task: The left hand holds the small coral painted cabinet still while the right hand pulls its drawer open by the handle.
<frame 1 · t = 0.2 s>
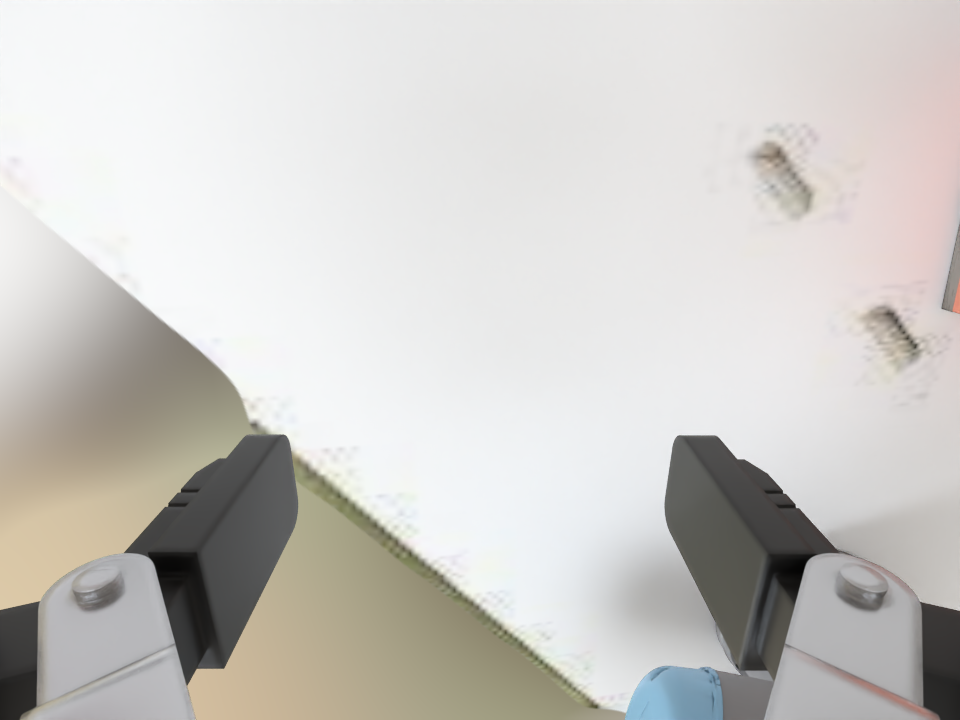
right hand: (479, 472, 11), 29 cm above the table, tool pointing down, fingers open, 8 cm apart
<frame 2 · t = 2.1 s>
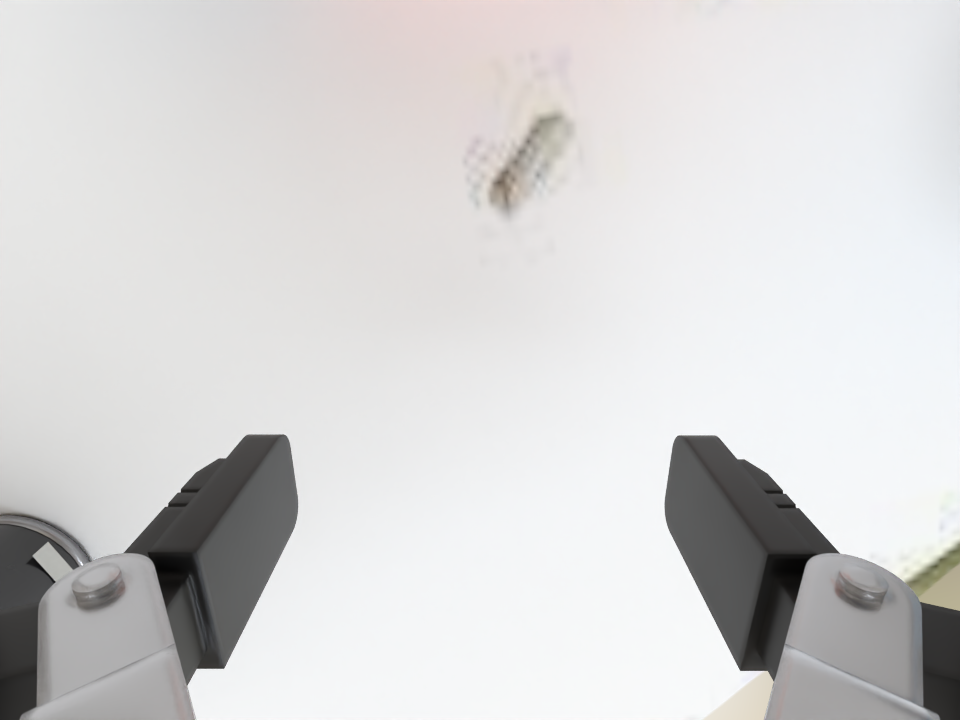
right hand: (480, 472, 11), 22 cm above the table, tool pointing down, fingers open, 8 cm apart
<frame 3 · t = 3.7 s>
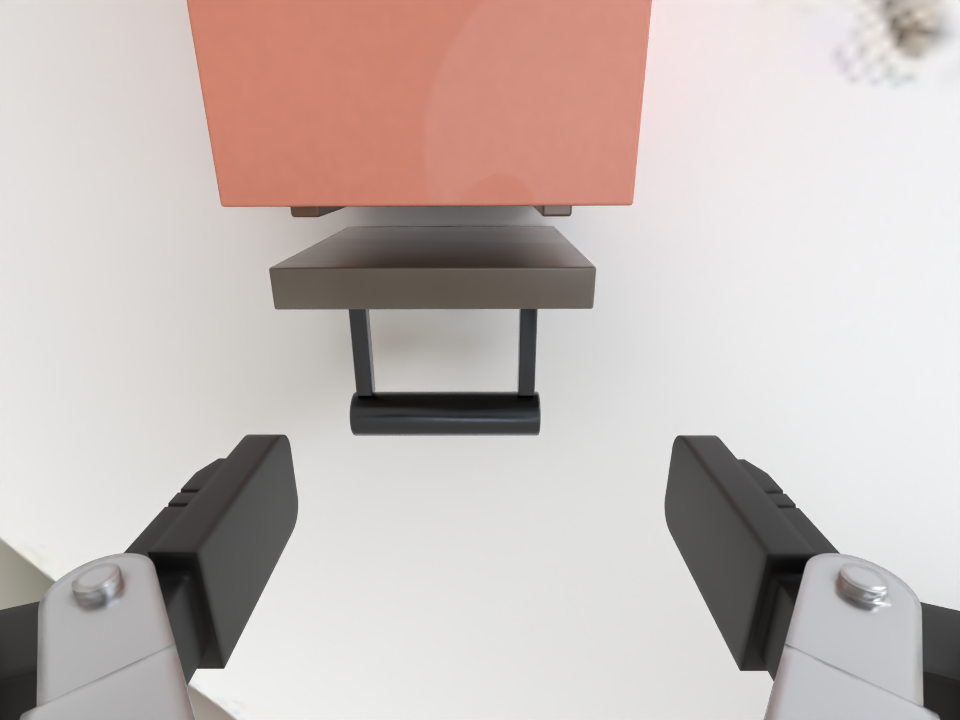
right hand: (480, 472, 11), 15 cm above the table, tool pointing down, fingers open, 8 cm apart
drawer: (440, 113, 18), point 6 cm above the table, slide at 1.7 cm
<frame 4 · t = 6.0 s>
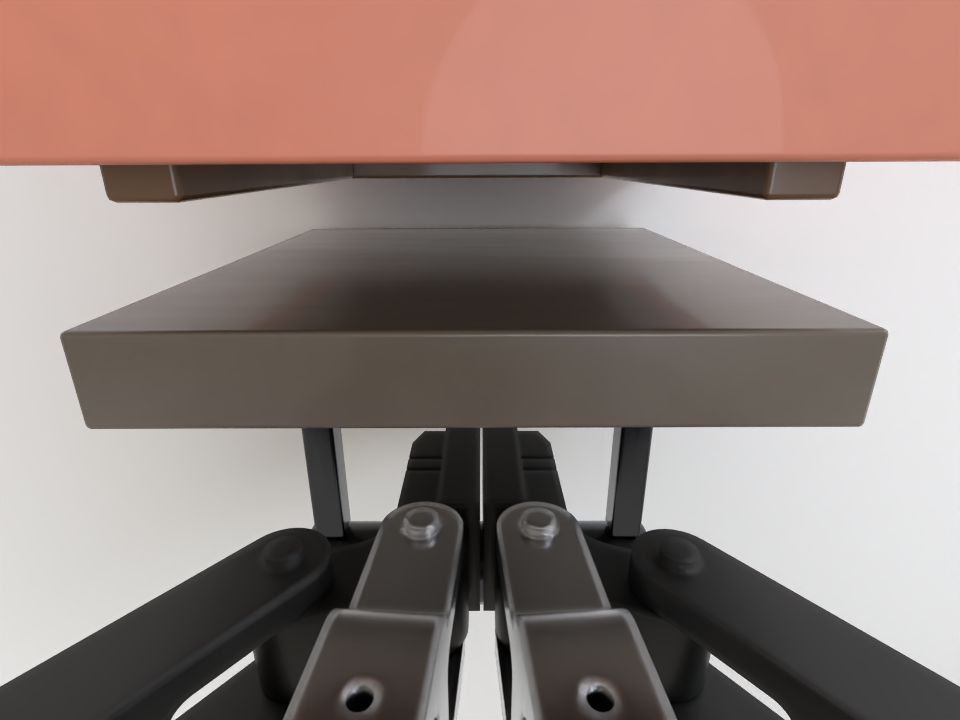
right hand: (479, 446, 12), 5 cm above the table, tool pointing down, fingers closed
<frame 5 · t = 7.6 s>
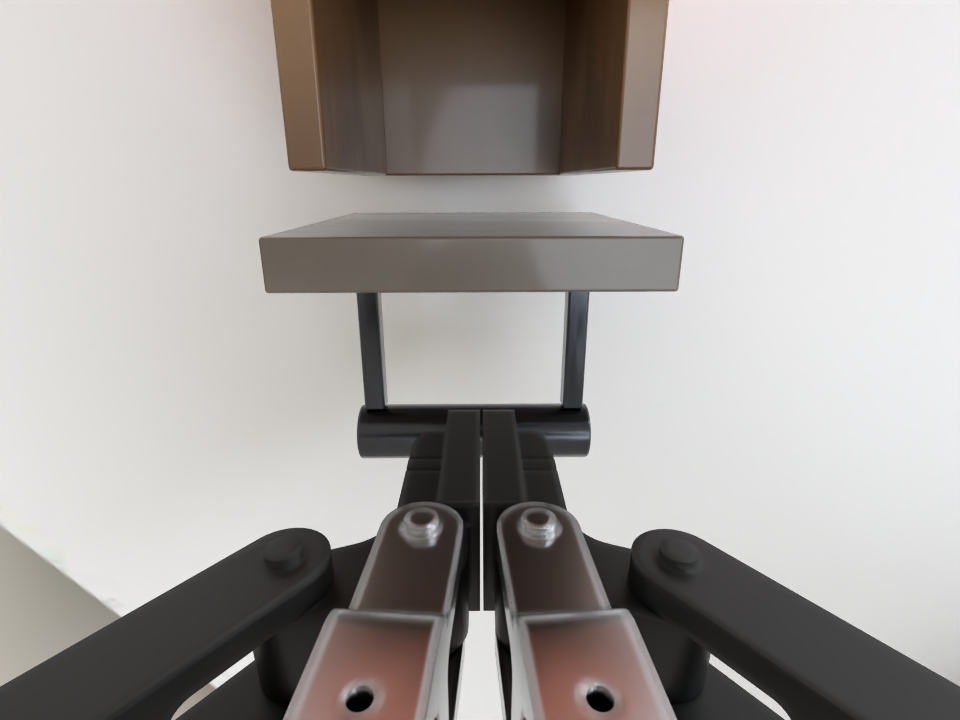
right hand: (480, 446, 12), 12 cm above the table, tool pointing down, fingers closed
drawer: (471, 60, 14), point 6 cm above the table, slide at 5.5 cm
when the left hand's fingers open (6 cm above the table, at t = 8.5 s): cabinet stays where it is, on the table.
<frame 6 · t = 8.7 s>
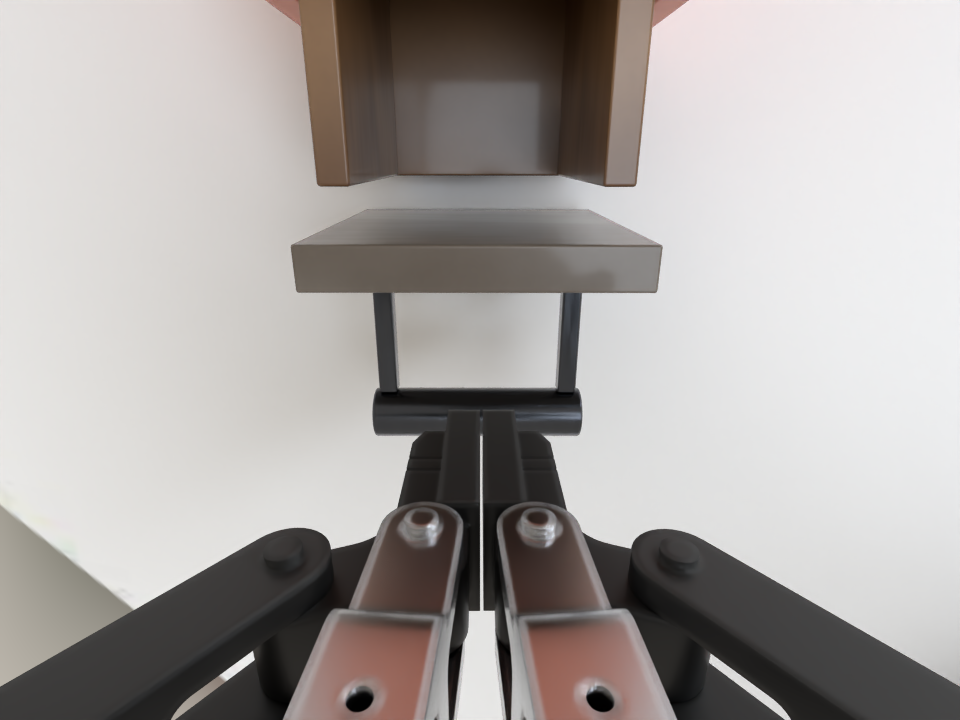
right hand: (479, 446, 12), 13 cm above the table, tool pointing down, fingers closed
drawer: (477, 76, 16), point 6 cm above the table, slide at 5.5 cm
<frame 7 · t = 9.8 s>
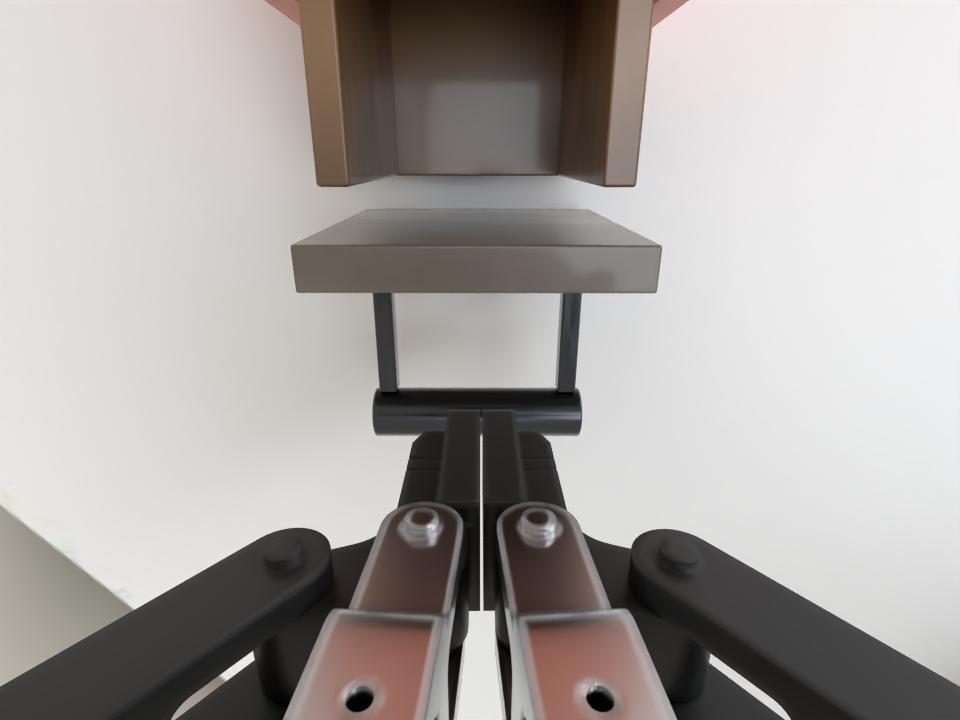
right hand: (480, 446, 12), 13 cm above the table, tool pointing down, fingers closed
drawer: (477, 77, 16), point 6 cm above the table, slide at 5.5 cm
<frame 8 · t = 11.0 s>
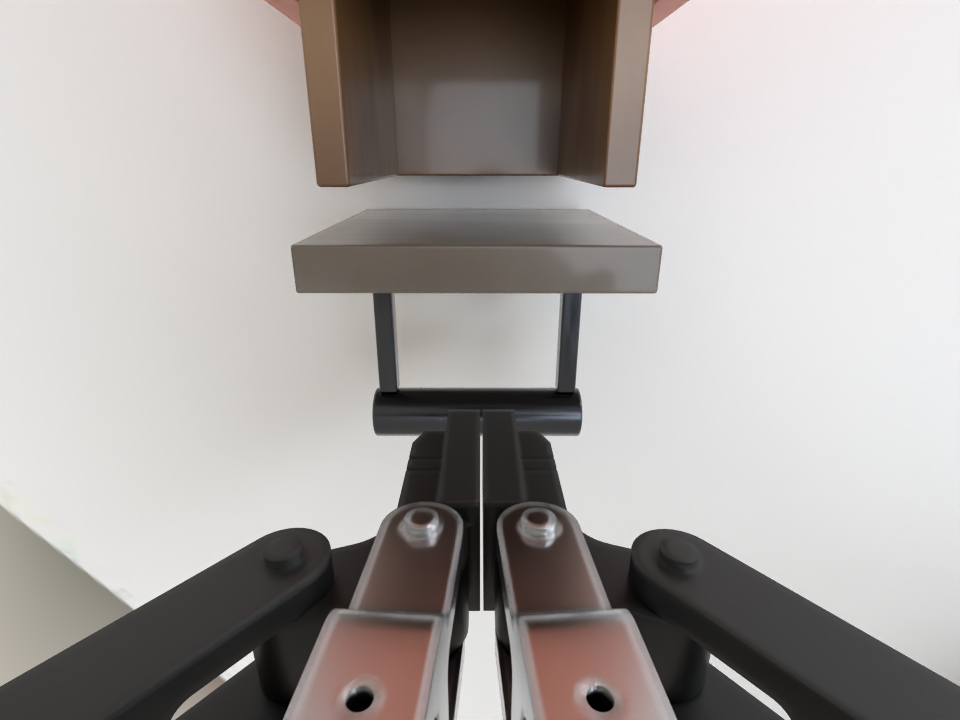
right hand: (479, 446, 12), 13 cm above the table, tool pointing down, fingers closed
drawer: (477, 77, 16), point 6 cm above the table, slide at 5.5 cm
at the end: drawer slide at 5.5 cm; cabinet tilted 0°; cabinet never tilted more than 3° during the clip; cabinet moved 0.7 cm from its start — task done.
